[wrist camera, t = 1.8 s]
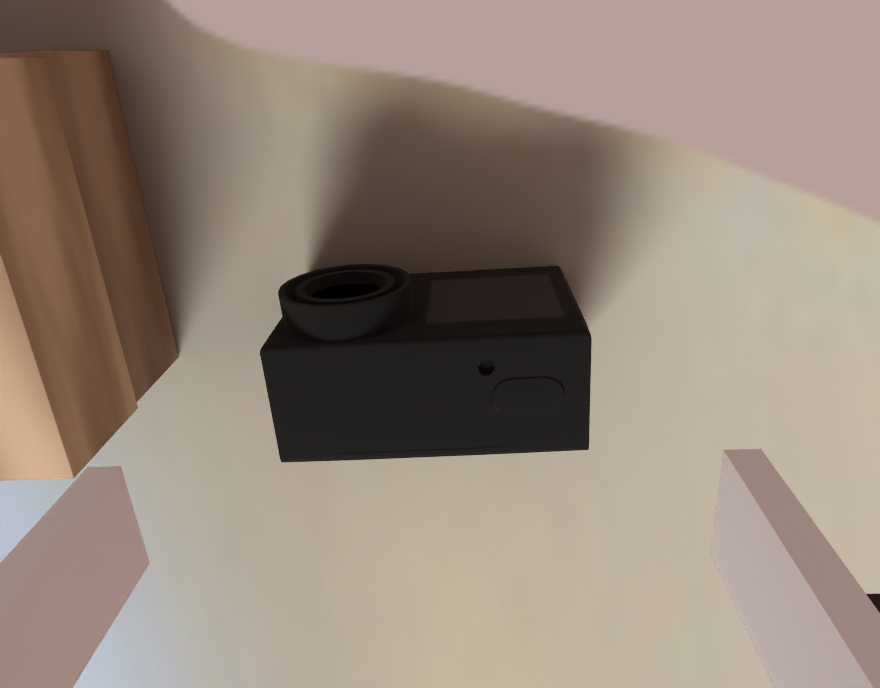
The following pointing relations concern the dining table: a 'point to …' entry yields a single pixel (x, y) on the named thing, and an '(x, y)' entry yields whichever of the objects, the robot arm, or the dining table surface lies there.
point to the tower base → (112, 208)
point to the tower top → (50, 296)
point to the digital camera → (427, 364)
